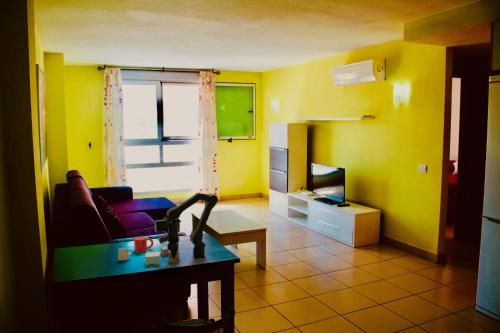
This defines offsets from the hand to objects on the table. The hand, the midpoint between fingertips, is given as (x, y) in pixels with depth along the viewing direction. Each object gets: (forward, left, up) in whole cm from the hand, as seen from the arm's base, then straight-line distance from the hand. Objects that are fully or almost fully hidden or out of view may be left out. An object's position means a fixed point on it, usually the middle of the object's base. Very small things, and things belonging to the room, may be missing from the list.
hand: (174, 255), depth 230 cm
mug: (+20, -24, -3) cm, 31 cm away
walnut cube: (0, 0, -3) cm, 3 cm away
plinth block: (+12, +1, -3) cm, 12 cm away
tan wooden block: (+5, -13, -3) cm, 14 cm away
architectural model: (+30, -7, -3) cm, 31 cm away
